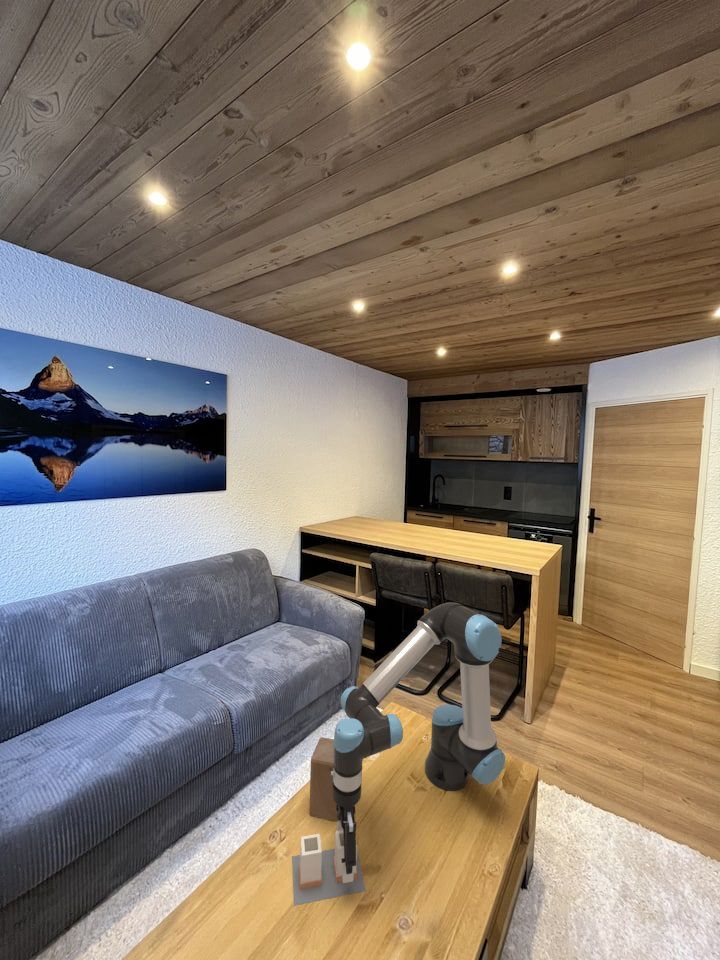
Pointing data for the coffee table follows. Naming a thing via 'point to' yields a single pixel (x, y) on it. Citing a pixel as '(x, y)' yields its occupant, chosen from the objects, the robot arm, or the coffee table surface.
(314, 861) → the sleeve
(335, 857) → the sleeve
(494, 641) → the robot arm
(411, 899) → the coffee table surface
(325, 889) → the pin board
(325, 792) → the wooden block
